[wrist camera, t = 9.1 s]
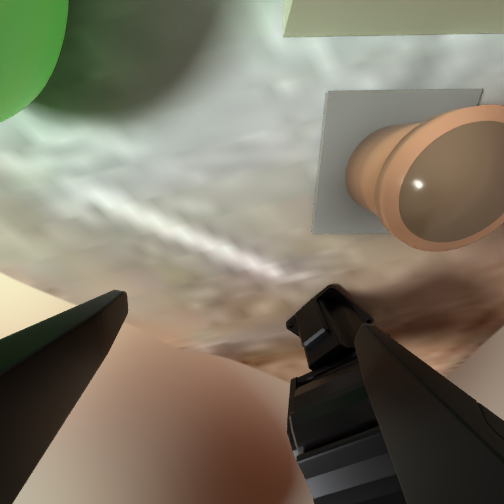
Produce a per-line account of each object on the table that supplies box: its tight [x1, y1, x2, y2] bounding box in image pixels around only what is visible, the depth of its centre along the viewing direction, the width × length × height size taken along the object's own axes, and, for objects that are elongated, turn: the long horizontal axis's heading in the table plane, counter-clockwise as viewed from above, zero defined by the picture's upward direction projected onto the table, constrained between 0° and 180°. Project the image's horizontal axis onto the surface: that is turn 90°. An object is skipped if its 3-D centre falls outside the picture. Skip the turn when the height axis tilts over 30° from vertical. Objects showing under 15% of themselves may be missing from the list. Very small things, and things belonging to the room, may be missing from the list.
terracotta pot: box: [346, 105, 504, 251], centre depth 14 cm, size 7×7×7 cm
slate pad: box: [311, 89, 483, 234], centre depth 18 cm, size 10×10×1 cm
